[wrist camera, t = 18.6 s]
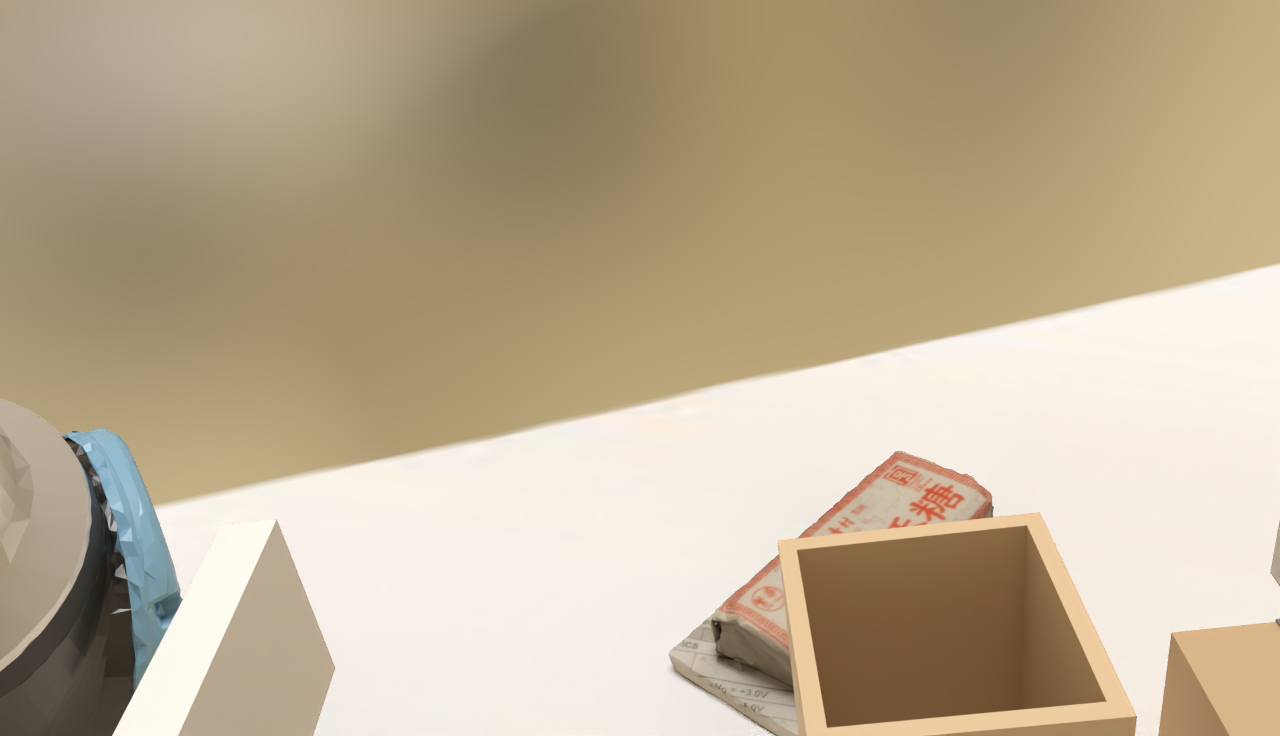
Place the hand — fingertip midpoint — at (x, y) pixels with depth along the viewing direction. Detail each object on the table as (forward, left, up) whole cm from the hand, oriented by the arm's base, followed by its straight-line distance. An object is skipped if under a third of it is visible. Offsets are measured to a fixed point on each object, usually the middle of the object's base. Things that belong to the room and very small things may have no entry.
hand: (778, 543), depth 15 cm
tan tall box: (+5, +15, -32) cm, 36 cm away
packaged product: (+4, +32, -33) cm, 46 cm away
